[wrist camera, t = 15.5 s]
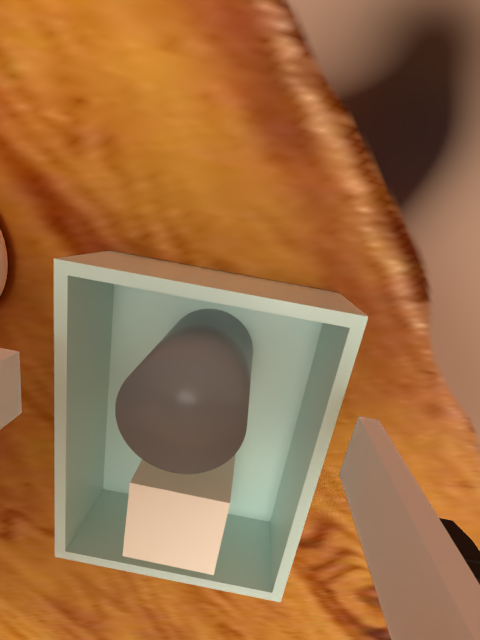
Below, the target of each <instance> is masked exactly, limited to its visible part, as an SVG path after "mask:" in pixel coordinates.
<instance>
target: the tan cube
mask: <svg viewBox="0 0 480 640" xmlns="http://www.w3.org/2000/svg"><path fill="white" fill-rule="evenodd" d="M235 456H236V454H235V455H234V456H233V457H232V458H231V459H230V460H229V461H227V462H226V463H225V464H223V465H221V466H220V467H218V468H215V469H213V470H210V471H207V472H203V473H198V474H178V473H172V472H168V471H164V470H162V469H159V468H157V467H155V466H152V465H150V464H149V463H147V462H146V461H144V460H143V459H142V460H141V462H140V464H139V466H138V468H137V470H136V472H135V474H134V476H133V478H132V480H131V481H130V487H129V496H128V506H127V516H126V526H125V535H124V545H123V555H122V556H125V557H130V558H134V559H139V560H144V561H149V562H153V563H158V564H163V565H168V566H172V567H177V568H182V569H187V570H191V571H196V572H201V573H206V574H210V575H214V572H215V567H216V563H217V559H218V554H219V550H220V545H221V541H222V537H223V532H224V528H225V523H226V519H227V515H228V510H229V506H230V499H231V491H232V482H233V474H234V465H235Z"/></svg>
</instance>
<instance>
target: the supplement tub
mask: <svg viewBox="0 0 480 640" xmlns="http://www.w3.org/2000/svg"><path fill="white" fill-rule="evenodd" d="M7 270H8V259H7V250H6V245H5V241H4V238H3V235H2V232H1V229H0V296H1V294H2V292H3V289H4V286H5V282H6V279H7Z"/></svg>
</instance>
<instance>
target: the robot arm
mask: <svg viewBox="0 0 480 640" xmlns="http://www.w3.org/2000/svg"><path fill="white" fill-rule="evenodd" d="M21 413H22V401H21V376H20V351H15V350H10V349H4V348H0V429H2V428H3V427H4V426H6V425H7V424H8V423H9V422H11V421H12V420H13V419H15V418H16V417H17V416H19V415H20V414H21ZM339 476H340V479H341V482H342V485H343V488H344V491H345V495H346V498H347V501H348V504H349V507H350V510H351V514H352V517H353V520H354V523H355V526H356V529H357V533H358V536H359V539H360V542H361V545H362V549H363V552H364V555H365V558H366V561H367V564H368V568H369V571H370V574H371V577H372V580H373V583H374V587H375V590H376V593H377V596H378V599H379V602H380V606H381V609H382V612H383V615H384V618H385V621H386V625H387V628H388V631H389V634H390V637H391V640H480V551H479V550H478V548H477V547H476V545H475V544H474V542H473V541H472V540H471V539H470V538H469V537H468V536H467V535H466V534H465V533H464V532H463V531H462V530H461V529H460V528H459V527H458V526H457V525H456V524H455V523H454V522H453V521H451V520H446V519H441V518H439V517H438V516H437V514H436V512H435V511H434V509H433V508H432V506H431V504H430V503H429V501H428V499H427V498H426V496H425V495H424V493H423V491H422V490H421V488H420V486H419V485H418V483H417V482H416V480H415V478H414V477H413V475H412V473H411V472H410V470H409V468H408V467H407V465H406V464H405V462H404V460H403V459H402V457H401V455H400V454H399V452H398V451H397V449H396V447H395V446H394V444H393V442H392V441H391V439H390V437H389V436H388V434H387V433H386V431H385V429H384V428H383V426H382V424H381V423H380V421H379V420H377V419H372V418H367V417H361V416H358V419H357V422H356V425H355V428H354V431H353V434H352V437H351V440H350V443H349V446H348V449H347V452H346V455H345V458H344V461H343V464H342V467H341V470H340V473H339Z"/></svg>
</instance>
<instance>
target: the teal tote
mask: <svg viewBox="0 0 480 640" xmlns="http://www.w3.org/2000/svg"><path fill="white" fill-rule="evenodd" d="M200 309H218V310H222V311H225V312H227V313H229V314H231V315H233V316H234V317H236V318H237V319H238V320H239V321H240V322H242V324H243V325H244V326H245V327H246V329H247V331H248V332H249V334H250V337H251V340H252V345H253V358H252V370H251V383H250V396H249V408H248V421H247V430H246V435H245V438H244V441H243V443H242V445H241V447H240V448H239V450H238V451H237V453H236V456H235V465H234V474H233V482H232V491H231V499H230V506H229V510H228V515H227V519H226V523H225V528H224V532H223V537H222V541H221V545H220V550H219V554H218V559H217V563H216V567H215V572H214V575H210V574H206V573H201V572H196V571H191V570H187V569H182V568H177V567H172V566H168V565H163V564H158V563H153V562H149V561H144V560H139V559H134V558H130V557H125V556H122V555H123V545H124V535H125V526H126V516H127V506H128V496H129V487H130V481H131V480H132V478H133V476H134V474H135V472H136V470H137V468H138V466H139V464H140V462H141V460H142V459H141V458H140V457H139V456H138V455H136V454H135V453H134V452H133V451H132V450H131V449H130V447H129V446H128V445H127V444H126V442H125V440H124V439H123V437H122V435H121V433H120V431H119V429H118V425H117V422H116V416H115V404H116V398H117V395H118V392H119V390H120V388H121V385H122V384H123V382H124V381H125V380H126V378H127V377H128V376H129V375H130V374H131V373H132V372H133V371H134V370H135V368H136V367H137V366H138V365H139V364H140V363H141V362H142V361H143V360H144V359H145V358H146V356H147V355H148V354H149V353H150V352H151V351H152V350H153V349H154V348H155V347H156V346H157V344H158V343H159V342H160V341H161V340H162V339H163V338H164V337H165V336H166V335H167V334H168V332H169V331H170V330H171V329H172V328H173V327H174V326H175V325H176V324H177V323H178V322H179V320H180V319H182V318H183V317H184V316H185V315H187V314H189V313H191V312H193V311H196V310H200ZM367 320H368V316H367V315H366V314H365V313H363V312H362V311H361V310H360V309H358V308H357V307H356V306H355V305H354V304H352V303H351V302H350V301H349V300H347V299H346V298H345V297H344V296H343V295H341V294H340V293H338V292H333V291H327V290H322V289H316V288H311V287H305V286H300V285H295V284H289V283H284V282H278V281H273V280H267V279H262V278H257V277H251V276H246V275H240V274H235V273H229V272H224V271H219V270H213V269H208V268H202V267H197V266H191V265H186V264H180V263H175V262H170V261H164V260H159V259H153V258H148V257H142V256H137V255H132V254H126V253H121V252H115V251H104V252H97V253H90V254H82V255H75V256H68V257H61V258H54V476H55V557H58V558H63V559H68V560H73V561H78V562H83V563H88V564H93V565H98V566H103V567H108V568H113V569H118V570H123V571H128V572H132V573H137V574H142V575H147V576H152V577H157V578H162V579H167V580H172V581H177V582H182V583H187V584H192V585H197V586H202V587H207V588H212V589H217V590H222V591H227V592H232V593H237V594H242V595H247V596H252V597H257V598H262V599H267V600H272V601H277V602H281V599H282V596H283V592H284V589H285V586H286V583H287V579H288V576H289V573H290V570H291V566H292V563H293V560H294V557H295V554H296V550H297V547H298V544H299V541H300V537H301V534H302V531H303V528H304V524H305V521H306V518H307V515H308V511H309V508H310V505H311V502H312V498H313V495H314V492H315V489H316V485H317V482H318V479H319V476H320V473H321V469H322V466H323V463H324V460H325V456H326V453H327V450H328V447H329V443H330V440H331V437H332V434H333V430H334V427H335V424H336V421H337V417H338V414H339V411H340V408H341V404H342V401H343V398H344V395H345V392H346V388H347V385H348V382H349V379H350V375H351V372H352V369H353V366H354V362H355V359H356V356H357V353H358V349H359V346H360V343H361V340H362V336H363V333H364V330H365V327H366V324H367Z"/></svg>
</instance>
